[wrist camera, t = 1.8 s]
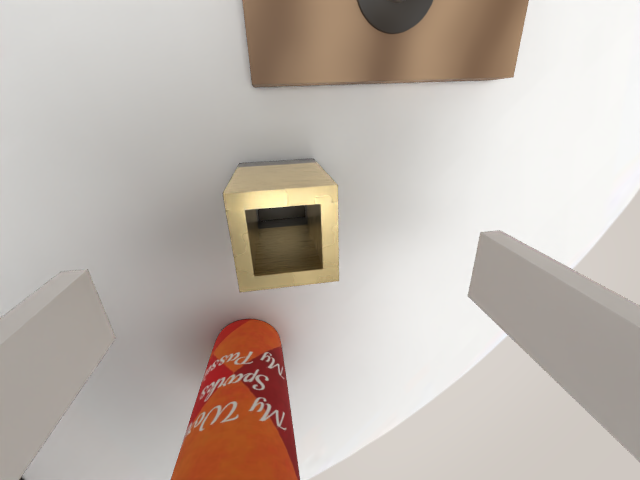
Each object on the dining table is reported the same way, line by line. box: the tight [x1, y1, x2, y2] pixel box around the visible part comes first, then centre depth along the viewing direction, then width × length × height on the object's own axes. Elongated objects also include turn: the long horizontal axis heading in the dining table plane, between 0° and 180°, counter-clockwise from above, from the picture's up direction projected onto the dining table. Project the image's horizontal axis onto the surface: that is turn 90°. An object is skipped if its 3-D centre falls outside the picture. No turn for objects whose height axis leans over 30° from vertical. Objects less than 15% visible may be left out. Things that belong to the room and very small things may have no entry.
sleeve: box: [223, 159, 339, 292], centre depth 18 cm, size 5×5×8 cm
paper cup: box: [171, 319, 300, 480], centre depth 20 cm, size 8×8×14 cm
